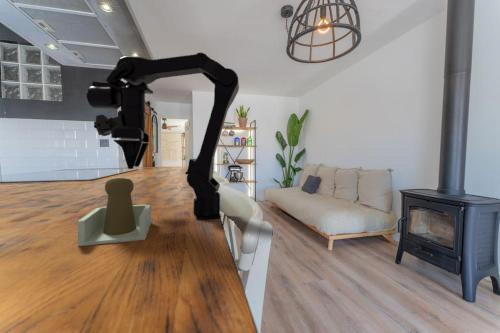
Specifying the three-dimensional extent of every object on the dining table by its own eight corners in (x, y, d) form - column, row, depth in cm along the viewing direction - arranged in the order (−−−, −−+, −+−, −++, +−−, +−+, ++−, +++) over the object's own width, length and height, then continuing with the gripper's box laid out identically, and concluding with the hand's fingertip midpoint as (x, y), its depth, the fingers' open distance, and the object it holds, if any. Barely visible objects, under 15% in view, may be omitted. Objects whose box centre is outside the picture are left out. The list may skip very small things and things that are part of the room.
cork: (97, 235, 43) (96, 180, 42) (111, 225, 49) (110, 176, 48) (130, 234, 44) (129, 180, 43) (140, 224, 50) (139, 176, 49)
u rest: (151, 222, 54) (150, 204, 53) (145, 239, 43) (145, 216, 43) (98, 226, 50) (98, 207, 50) (78, 246, 40) (77, 221, 39)
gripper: (108, 113, 65) (109, 165, 65) (83, 97, 47) (85, 170, 48) (149, 115, 68) (150, 165, 69) (140, 102, 51) (141, 170, 51)
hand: (133, 167), depth 59 cm, fingers open, 9 cm apart
